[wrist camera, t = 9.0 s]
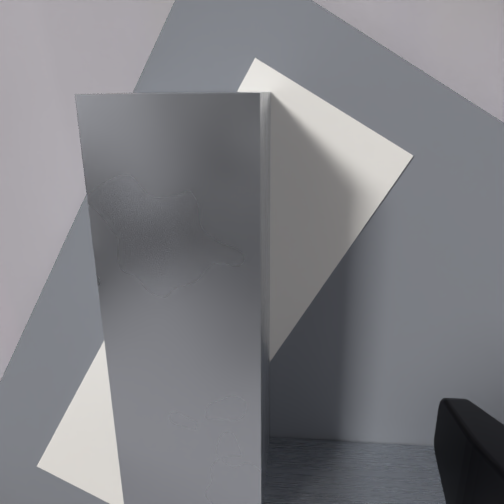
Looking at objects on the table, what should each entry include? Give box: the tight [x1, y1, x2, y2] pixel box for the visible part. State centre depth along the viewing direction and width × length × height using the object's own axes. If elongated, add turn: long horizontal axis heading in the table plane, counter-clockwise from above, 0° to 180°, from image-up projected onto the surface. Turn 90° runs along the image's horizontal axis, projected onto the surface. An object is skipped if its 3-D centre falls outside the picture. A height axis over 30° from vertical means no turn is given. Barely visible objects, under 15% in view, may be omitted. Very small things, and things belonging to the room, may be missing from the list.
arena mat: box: [0, 0, 504, 504], centre depth 13 cm, size 17×14×1 cm
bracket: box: [75, 92, 446, 504], centre depth 11 cm, size 12×9×3 cm
